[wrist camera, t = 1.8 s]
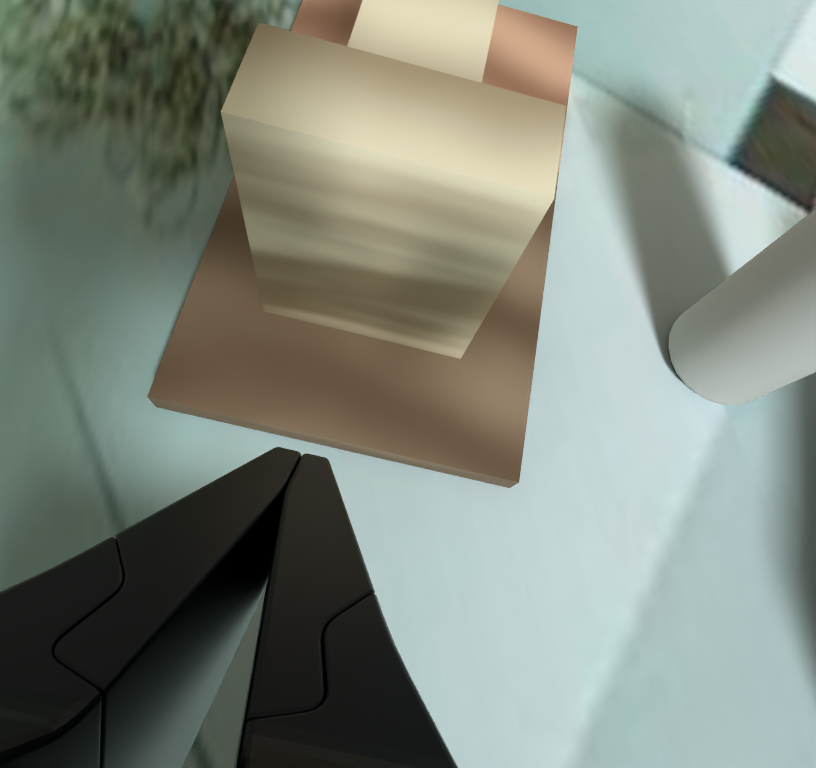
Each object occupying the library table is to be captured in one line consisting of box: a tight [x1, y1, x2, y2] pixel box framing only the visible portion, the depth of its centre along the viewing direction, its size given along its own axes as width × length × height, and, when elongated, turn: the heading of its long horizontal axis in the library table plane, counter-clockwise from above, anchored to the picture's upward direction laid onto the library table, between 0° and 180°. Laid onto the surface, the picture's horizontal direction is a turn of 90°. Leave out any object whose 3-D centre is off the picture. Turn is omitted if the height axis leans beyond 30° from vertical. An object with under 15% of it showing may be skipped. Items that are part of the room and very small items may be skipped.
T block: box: [221, 0, 566, 359], centre depth 20 cm, size 10×8×10 cm
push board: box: [147, 0, 577, 488], centre depth 26 cm, size 25×14×1 cm, turn 168°
